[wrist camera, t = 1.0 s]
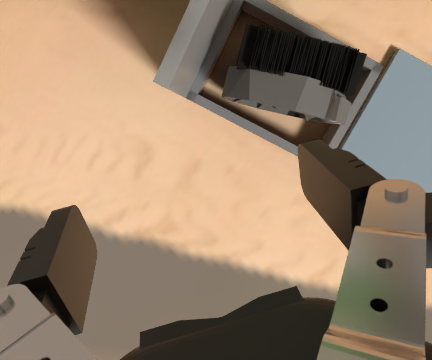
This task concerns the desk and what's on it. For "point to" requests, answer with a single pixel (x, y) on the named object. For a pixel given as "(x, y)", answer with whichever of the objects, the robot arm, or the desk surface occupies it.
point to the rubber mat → (397, 123)
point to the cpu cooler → (294, 75)
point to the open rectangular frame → (212, 46)
